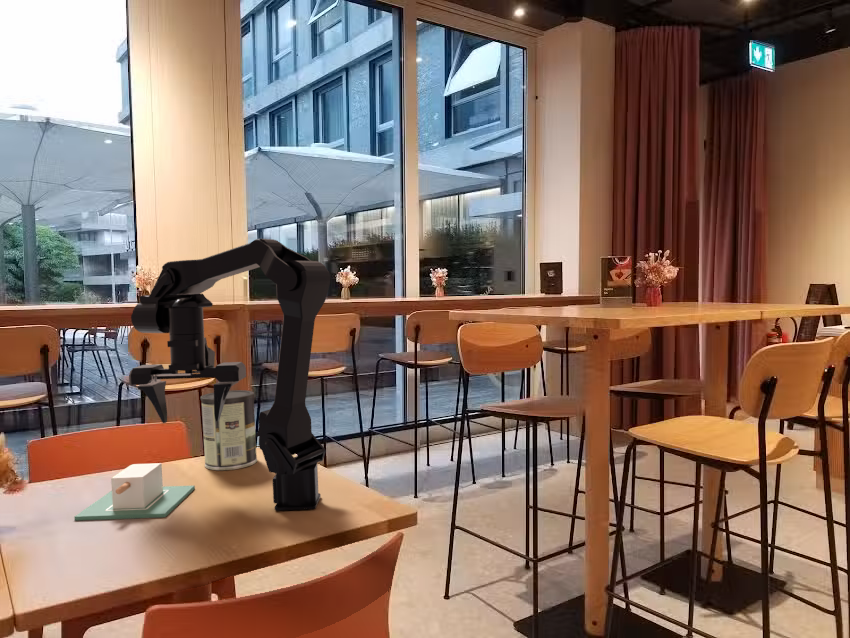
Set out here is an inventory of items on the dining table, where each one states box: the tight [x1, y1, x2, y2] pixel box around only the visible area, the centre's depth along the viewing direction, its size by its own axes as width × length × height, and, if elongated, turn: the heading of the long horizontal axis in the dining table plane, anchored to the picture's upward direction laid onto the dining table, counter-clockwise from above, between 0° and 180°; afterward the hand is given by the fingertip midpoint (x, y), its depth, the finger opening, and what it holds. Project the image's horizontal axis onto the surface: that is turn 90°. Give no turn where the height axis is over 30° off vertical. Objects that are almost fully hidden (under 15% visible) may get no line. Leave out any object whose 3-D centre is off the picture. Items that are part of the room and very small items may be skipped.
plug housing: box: [110, 462, 164, 509], centre depth 107 cm, size 5×12×5 cm, turn 2°
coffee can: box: [200, 389, 258, 471], centre depth 132 cm, size 10×10×14 cm
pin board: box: [73, 485, 196, 521], centre depth 109 cm, size 14×14×3 cm
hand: (191, 421), depth 115 cm, fingers open, 9 cm apart
